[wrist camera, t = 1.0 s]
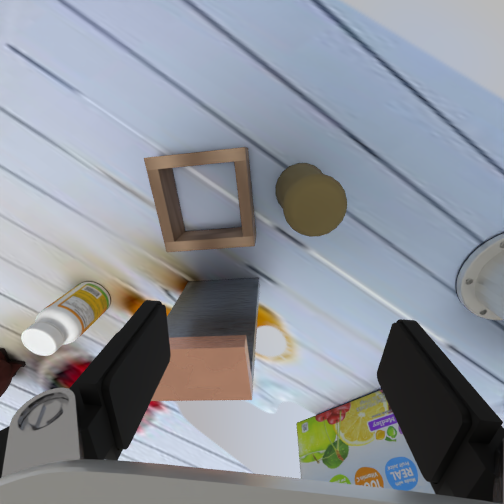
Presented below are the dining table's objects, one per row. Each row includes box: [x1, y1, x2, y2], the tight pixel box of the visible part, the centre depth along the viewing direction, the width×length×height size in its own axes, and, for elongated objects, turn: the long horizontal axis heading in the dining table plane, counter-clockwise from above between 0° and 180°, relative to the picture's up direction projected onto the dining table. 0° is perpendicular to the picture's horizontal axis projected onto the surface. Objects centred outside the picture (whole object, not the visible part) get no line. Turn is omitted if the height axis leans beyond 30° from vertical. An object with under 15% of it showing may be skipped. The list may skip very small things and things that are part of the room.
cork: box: [276, 163, 347, 236], centre depth 24 cm, size 6×6×11 cm
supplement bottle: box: [21, 282, 110, 356], centre depth 33 cm, size 5×5×10 cm
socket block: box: [144, 147, 256, 252], centre depth 28 cm, size 10×10×4 cm
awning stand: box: [151, 278, 260, 401], centre depth 26 cm, size 10×5×17 cm, turn 96°
